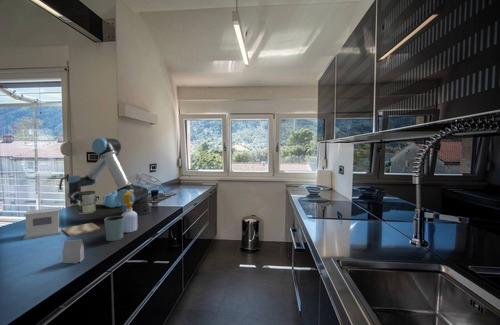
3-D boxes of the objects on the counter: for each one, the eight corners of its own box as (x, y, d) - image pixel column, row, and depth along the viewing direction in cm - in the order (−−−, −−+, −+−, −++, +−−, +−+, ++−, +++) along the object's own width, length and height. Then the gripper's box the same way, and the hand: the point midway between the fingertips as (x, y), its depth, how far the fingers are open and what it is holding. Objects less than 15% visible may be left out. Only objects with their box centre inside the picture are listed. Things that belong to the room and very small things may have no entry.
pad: (91, 224, 158) (91, 222, 158) (100, 229, 148) (100, 227, 147) (62, 230, 145) (62, 228, 145) (69, 236, 135) (69, 234, 135)
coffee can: (74, 214, 157) (73, 193, 156) (84, 210, 167) (83, 190, 167) (90, 213, 158) (89, 193, 157) (99, 210, 168) (98, 190, 167)
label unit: (61, 229, 146) (60, 207, 146) (60, 234, 138) (59, 210, 138) (26, 234, 137) (25, 210, 136) (23, 239, 129) (22, 214, 128)
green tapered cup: (110, 243, 127) (109, 221, 126) (100, 239, 132) (100, 218, 131) (128, 237, 135) (127, 217, 135) (118, 233, 141) (118, 214, 140)
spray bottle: (140, 228, 151) (139, 191, 150) (131, 233, 142) (131, 193, 141) (127, 227, 152) (126, 190, 151) (118, 232, 143) (117, 193, 142)
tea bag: (80, 262, 104) (80, 241, 104) (63, 264, 103) (62, 242, 102) (84, 259, 108) (83, 238, 108) (67, 260, 106) (66, 239, 106)
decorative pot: (99, 208, 198) (99, 193, 197) (110, 204, 214) (109, 189, 213) (119, 208, 199) (119, 193, 198) (128, 204, 215) (127, 190, 214)
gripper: (96, 199, 182) (107, 204, 168) (60, 205, 165) (68, 210, 151) (96, 190, 182) (106, 193, 168) (59, 194, 164) (68, 198, 151)
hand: (88, 201), depth 159 cm, fingers closed on coffee can, 10 cm apart
